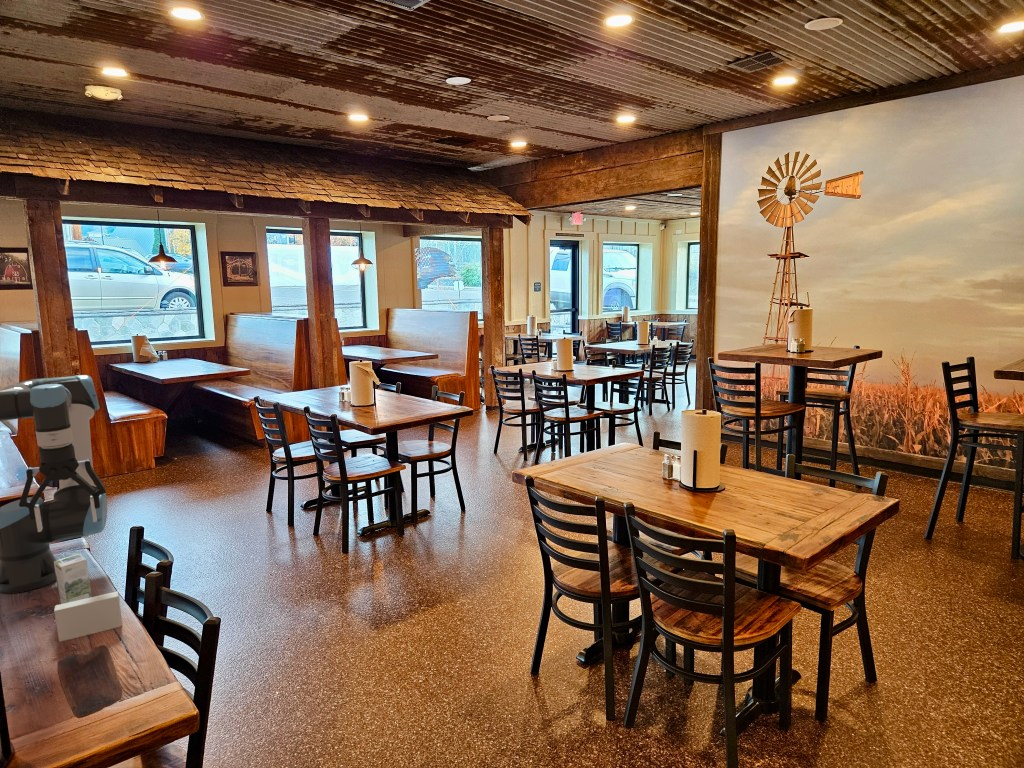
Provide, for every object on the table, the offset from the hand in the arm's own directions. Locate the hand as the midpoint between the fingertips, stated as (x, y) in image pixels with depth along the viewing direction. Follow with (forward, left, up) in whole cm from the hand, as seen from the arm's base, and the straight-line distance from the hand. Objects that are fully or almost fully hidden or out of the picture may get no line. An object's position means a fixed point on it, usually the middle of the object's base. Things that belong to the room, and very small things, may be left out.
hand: (68, 525), depth 175 cm
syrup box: (+7, 0, -21) cm, 23 cm away
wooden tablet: (+43, +4, -22) cm, 49 cm away
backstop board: (+21, +3, -21) cm, 30 cm away
